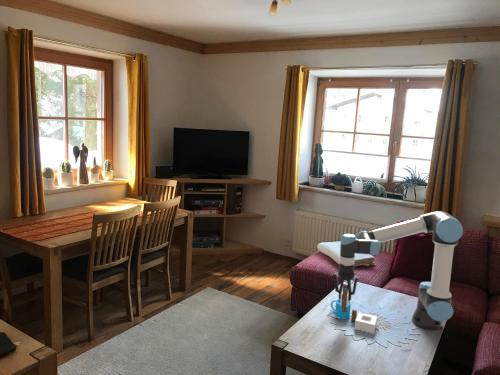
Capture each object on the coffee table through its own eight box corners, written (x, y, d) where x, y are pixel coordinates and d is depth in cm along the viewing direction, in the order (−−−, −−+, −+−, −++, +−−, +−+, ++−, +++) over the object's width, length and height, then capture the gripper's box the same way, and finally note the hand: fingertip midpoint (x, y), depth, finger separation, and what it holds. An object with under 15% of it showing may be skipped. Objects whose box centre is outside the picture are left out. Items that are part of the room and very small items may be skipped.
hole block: (376, 325, 217) (377, 316, 217) (374, 333, 208) (374, 324, 208) (357, 320, 221) (358, 312, 221) (354, 329, 212) (355, 320, 212)
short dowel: (356, 320, 222) (357, 310, 221) (355, 322, 220) (356, 312, 219) (351, 319, 223) (352, 309, 222) (350, 321, 221) (351, 311, 220)
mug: (352, 315, 227) (353, 302, 226) (344, 320, 221) (346, 306, 220) (334, 308, 235) (335, 295, 234) (326, 312, 229) (327, 299, 228)
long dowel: (346, 310, 215) (348, 284, 213) (346, 312, 213) (347, 286, 210) (342, 309, 216) (343, 283, 214) (341, 311, 214) (342, 285, 211)
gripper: (363, 263, 210) (360, 305, 214) (333, 258, 216) (331, 299, 220) (360, 268, 203) (358, 311, 207) (330, 263, 210) (328, 305, 214)
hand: (344, 305), depth 214 cm, fingers closed on long dowel, 2 cm apart
